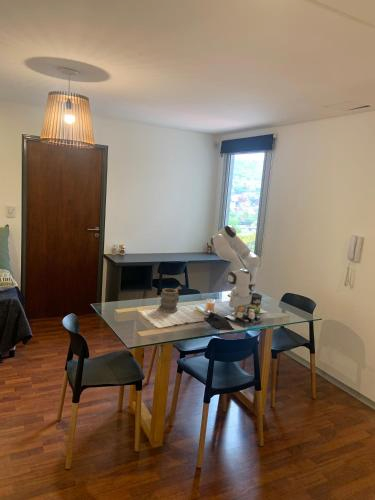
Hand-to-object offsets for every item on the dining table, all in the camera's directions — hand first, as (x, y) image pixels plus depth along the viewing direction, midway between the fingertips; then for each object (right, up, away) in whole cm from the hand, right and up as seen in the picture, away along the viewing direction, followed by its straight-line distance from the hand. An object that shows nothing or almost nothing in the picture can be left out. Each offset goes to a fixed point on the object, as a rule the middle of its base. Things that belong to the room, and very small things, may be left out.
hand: (238, 311), depth 254 cm
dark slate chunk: (-15, -7, -12) cm, 20 cm away
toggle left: (-1, -3, -8) cm, 9 cm away
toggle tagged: (+7, -3, -7) cm, 11 cm away
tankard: (-47, +1, +8) cm, 48 cm away
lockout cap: (0, -2, 0) cm, 2 cm away
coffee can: (+12, -4, +15) cm, 20 cm away
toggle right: (+9, -2, +1) cm, 9 cm away
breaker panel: (+2, -6, -2) cm, 7 cm away
